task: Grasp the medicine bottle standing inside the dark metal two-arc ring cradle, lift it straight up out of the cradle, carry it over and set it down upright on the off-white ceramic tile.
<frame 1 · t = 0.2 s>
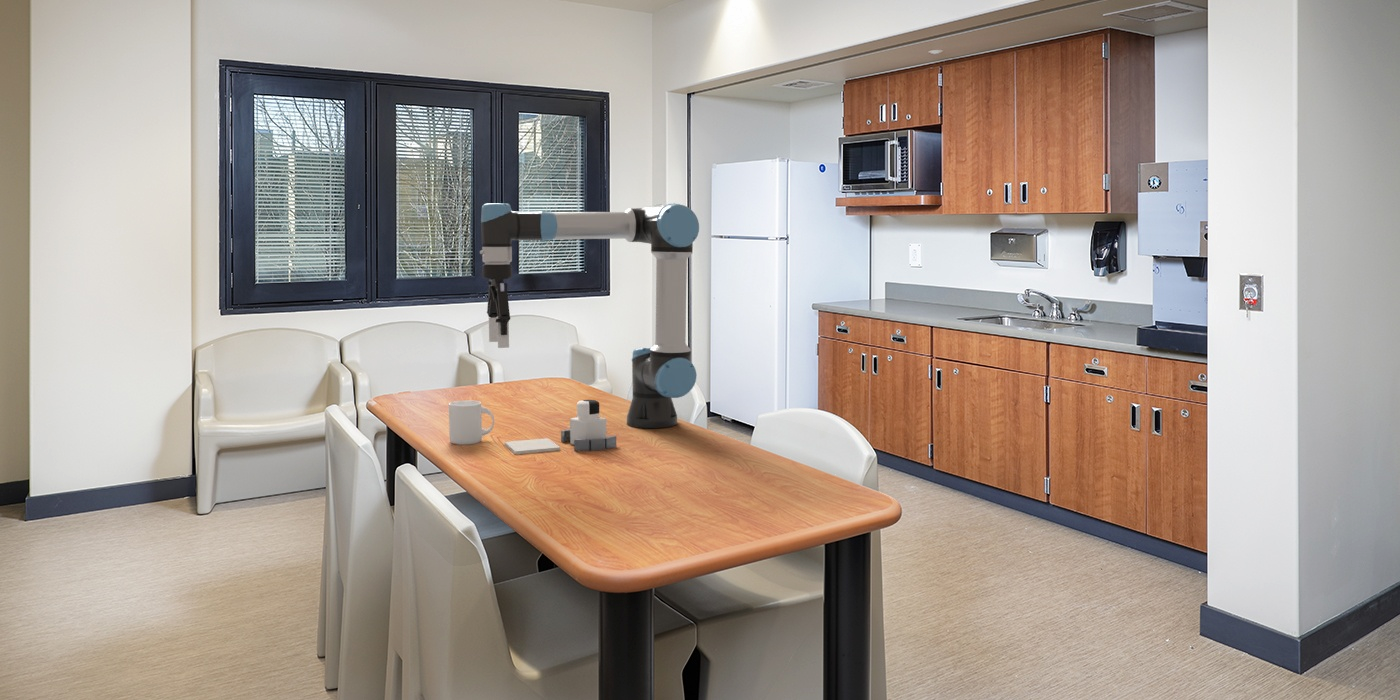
hand: (498, 344, 253), 27 cm above the table, fingers open, 13 cm apart
medicine bottle: (588, 445, 260), on the table
tile: (532, 447, 256), on the table
mug: (472, 441, 263), on the table
cradle: (588, 444, 260), on the table
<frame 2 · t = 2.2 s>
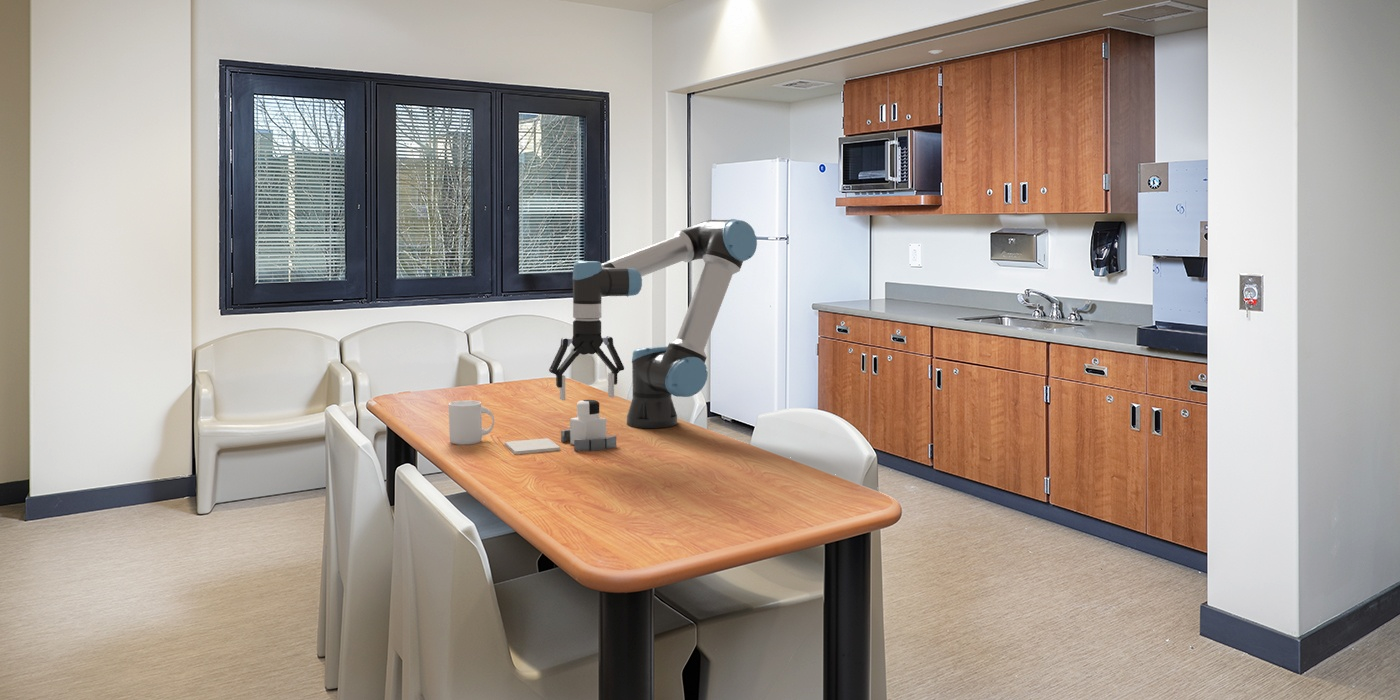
hand: (587, 398, 259), 13 cm above the table, fingers open, 13 cm apart
nothing on the table moved.
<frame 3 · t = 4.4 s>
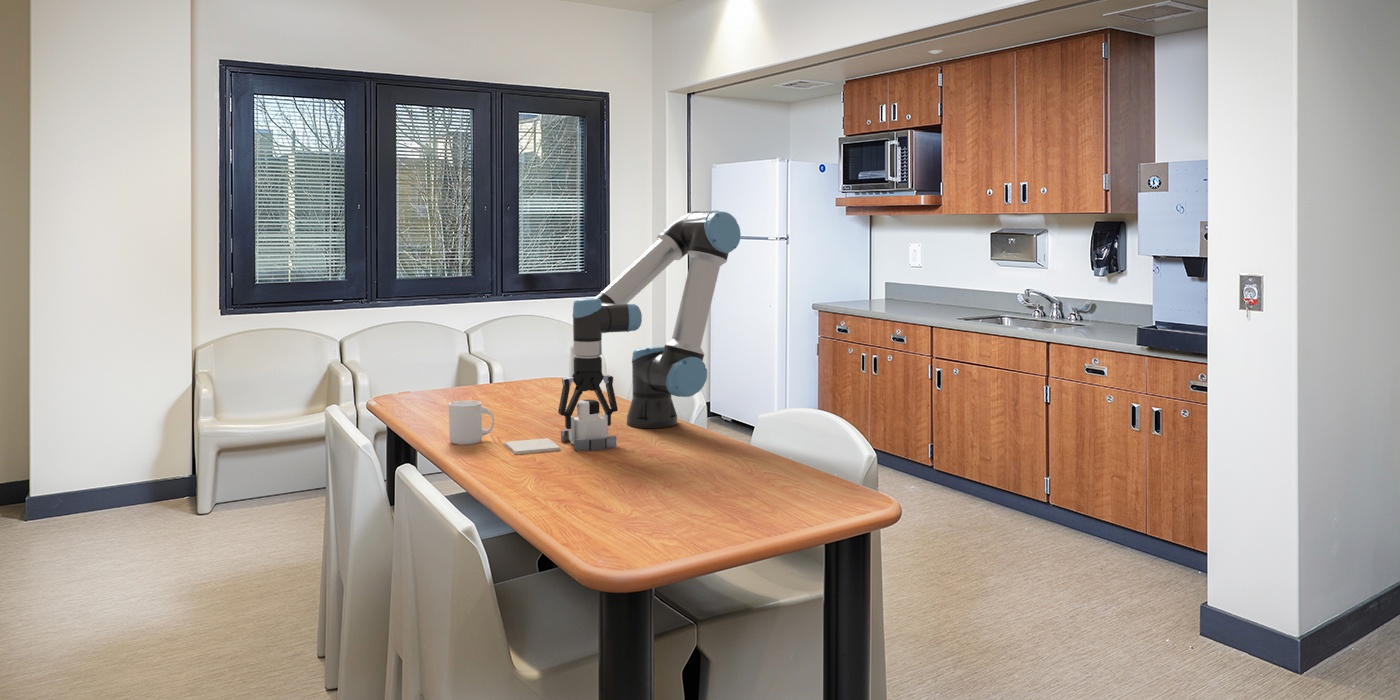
hand: (588, 439, 260), 1 cm above the table, fingers closed on medicine bottle, 9 cm apart
medicine bottle: (588, 444, 260), on the table, touching gripper
everything else where it was.
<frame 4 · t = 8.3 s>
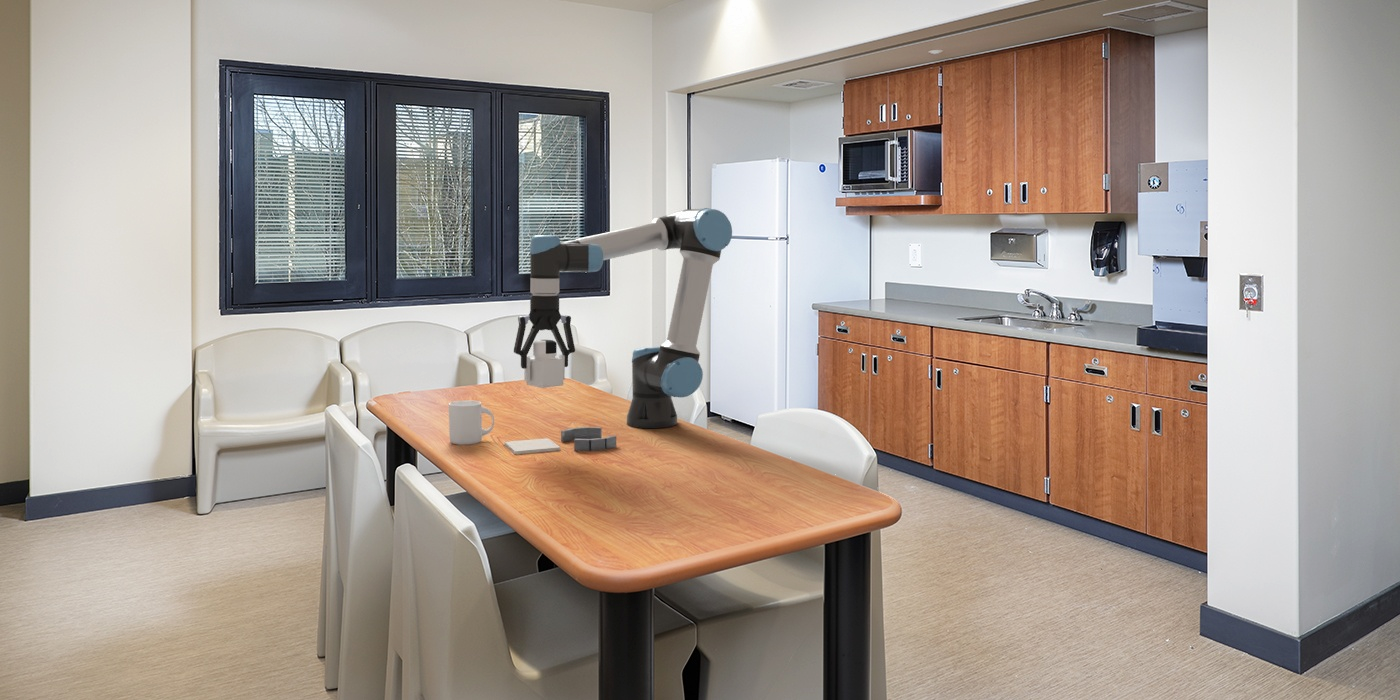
hand: (544, 379, 254), 18 cm above the table, fingers closed on medicine bottle, 9 cm apart
medicine bottle: (544, 386, 255), point 16 cm above the table, touching gripper
everything else where it was.
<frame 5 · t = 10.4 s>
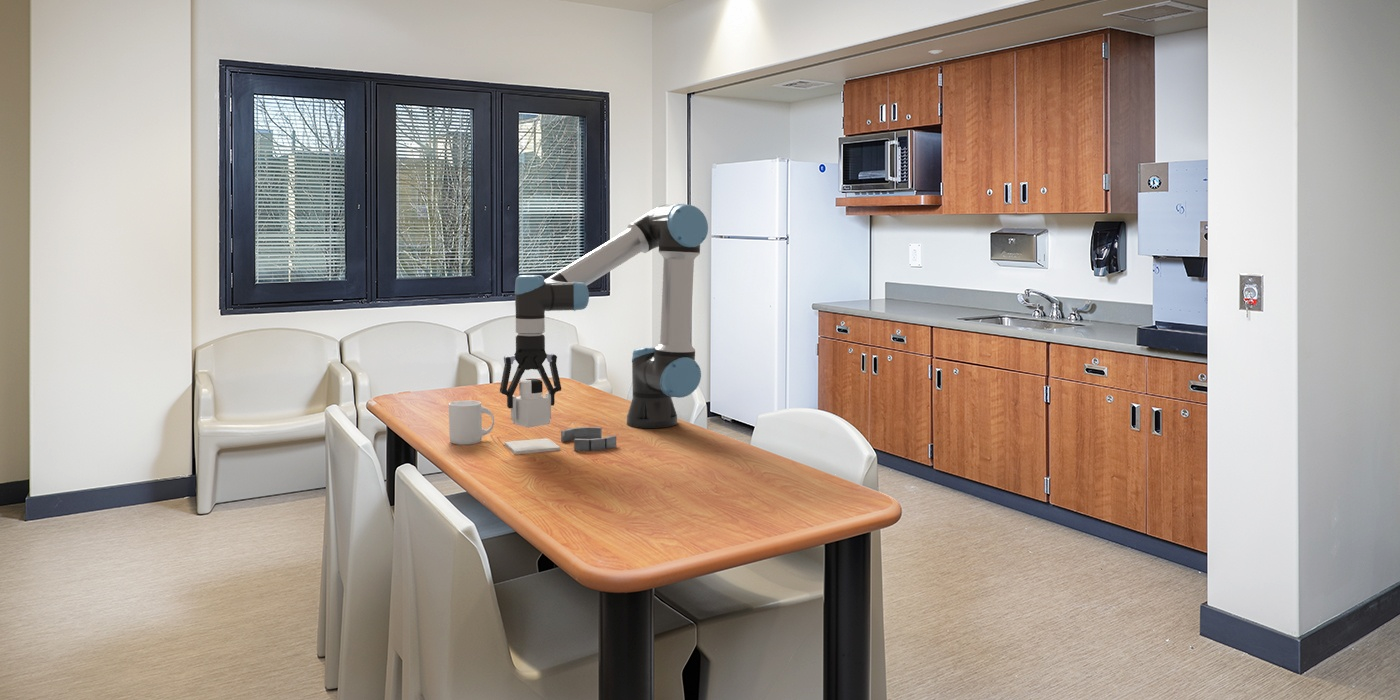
hand: (531, 418, 255), 8 cm above the table, fingers closed on medicine bottle, 9 cm apart
medicine bottle: (531, 424, 255), point 6 cm above the table, touching gripper
everything else where it was.
when the fingers open (3 cm above the table, at t = 12.2 s): medicine bottle stays where it is, resting on tile.
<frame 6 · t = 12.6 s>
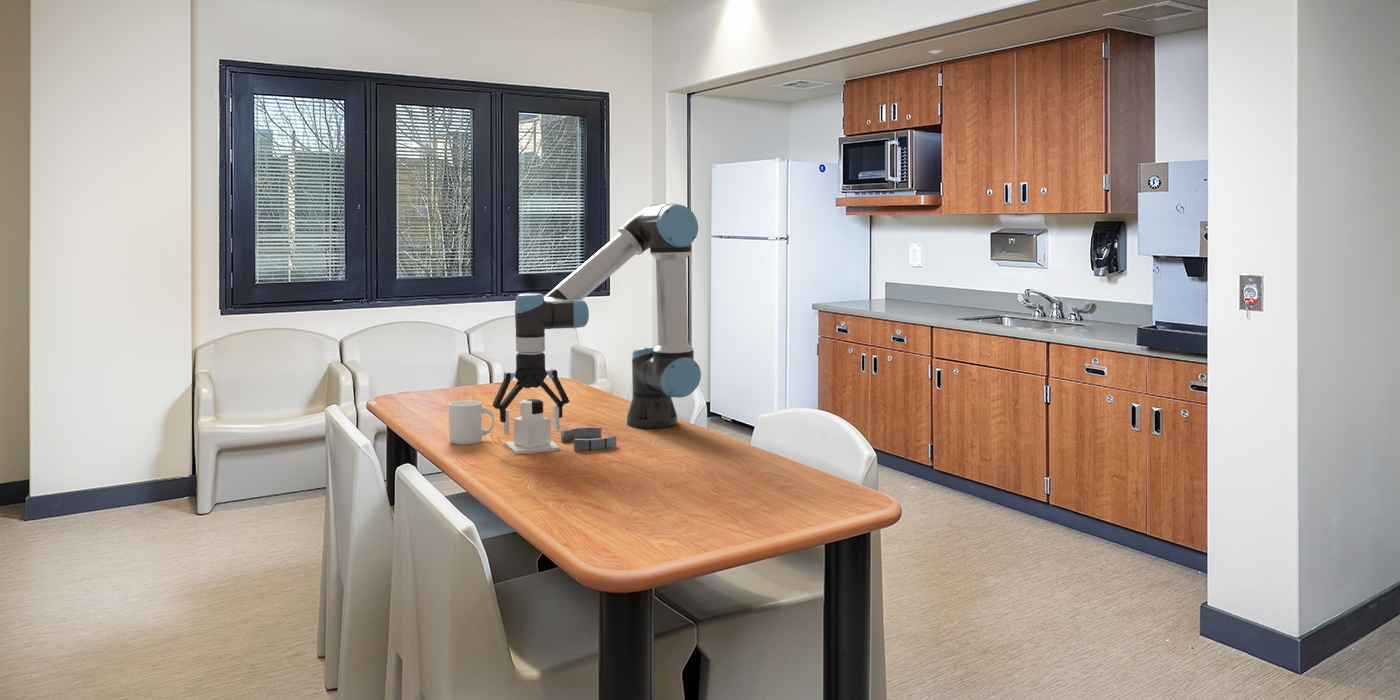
hand: (531, 432, 255), 4 cm above the table, fingers open, 13 cm apart
medicine bottle: (532, 445, 256), point 1 cm above the table, touching tile
everything else where it was.
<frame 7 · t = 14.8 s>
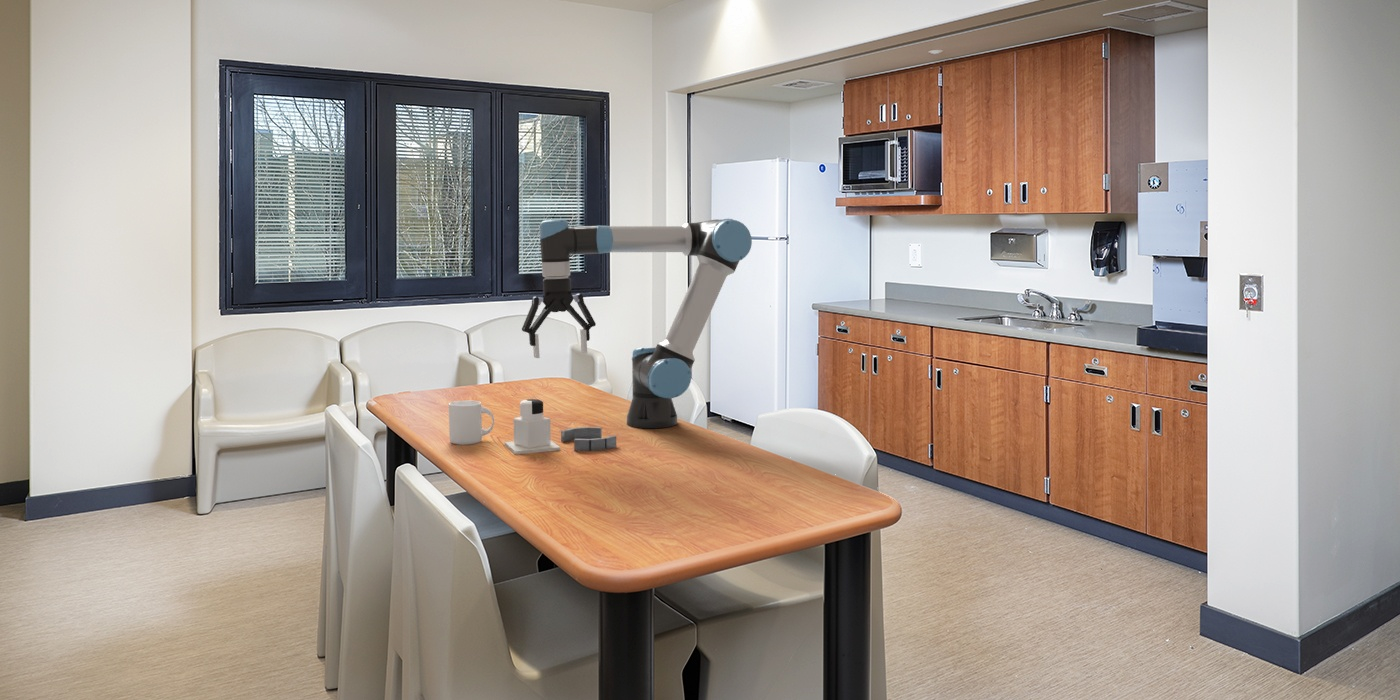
hand: (560, 355, 263), 23 cm above the table, fingers open, 13 cm apart
nothing on the table moved.
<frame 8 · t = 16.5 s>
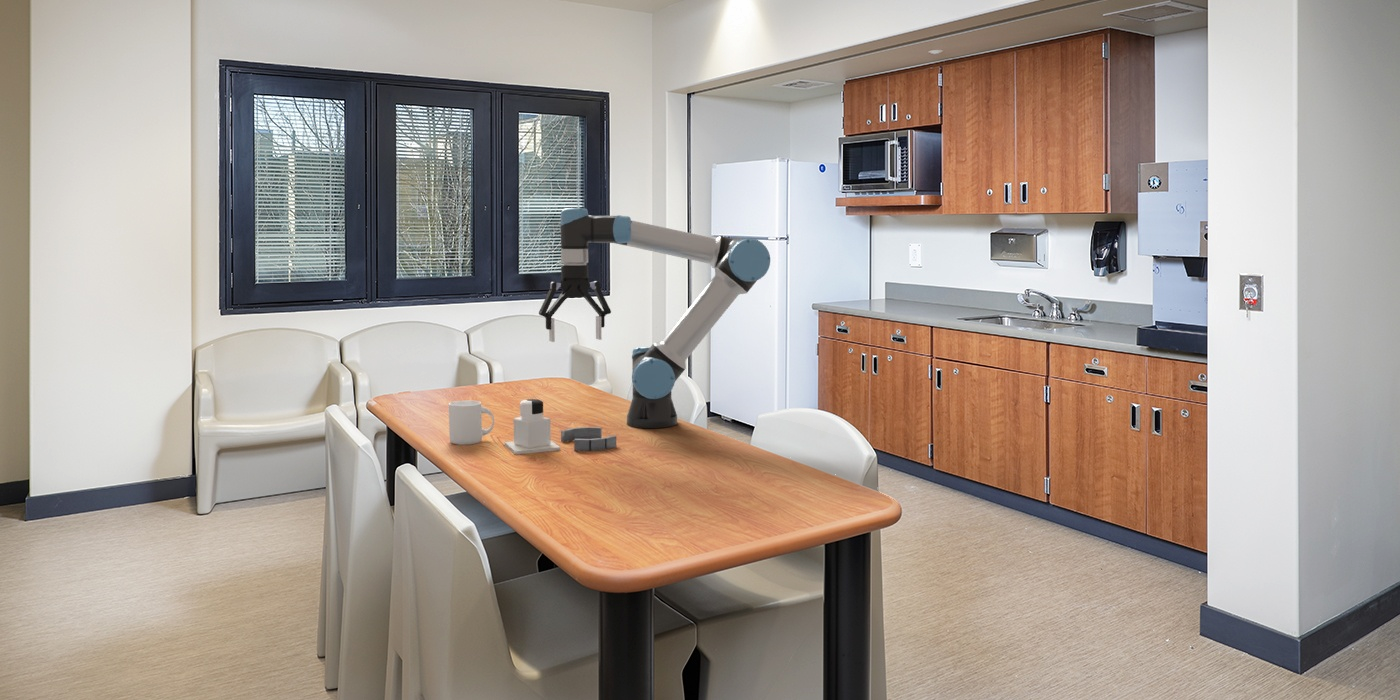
hand: (575, 340, 270), 27 cm above the table, fingers open, 13 cm apart
nothing on the table moved.
at the end: medicine bottle 0.1 cm from the tile (horizontally); medicine bottle tilted 0°; medicine bottle touching tile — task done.
